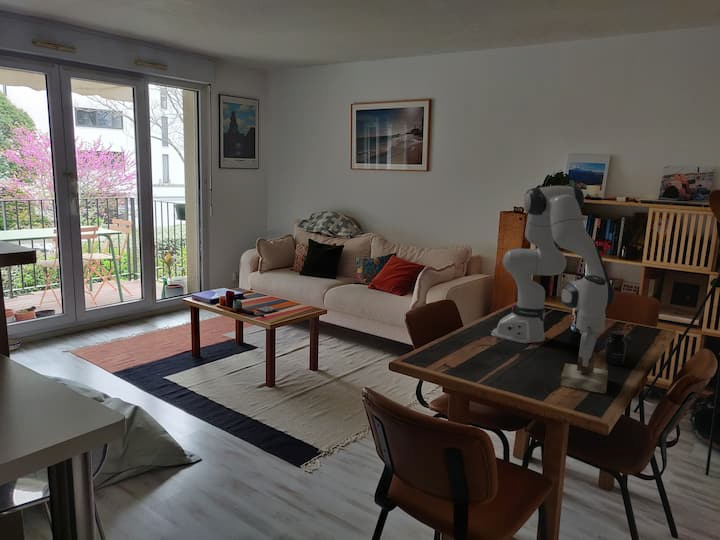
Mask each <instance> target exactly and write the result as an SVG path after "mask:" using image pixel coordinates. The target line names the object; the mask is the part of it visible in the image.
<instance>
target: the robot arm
mask: <svg viewBox="0 0 720 540" xmlns="http://www.w3.org/2000/svg"><path fill="white" fill-rule="evenodd" d="M523 199H524V200H523V206H524V209H525V211H526V213H528V214H527V219H526V224H525V225H526V226H525V231H524V236H525V239H526V241H528V242H529V243H531V244H532V245H533V246H536V247H537V248H514V249H508V250H507V251H506V252H505V254H504V256H503V258H502V265H503V268H504V269H505V271H506V272H507V273H508V274H510V275H511V276H512V277H513V279H514V281H515V284H516V287H517V302H515V303H513V304H512V307H511V313H509V314H507V315H505V316H503V317H502V318H501V319H500V320H499V322H498V323H497V327H495V328H493V329H492V331H491V333H490V335H491V336H492V337H494V338H498V339H503V340H508V341H513V342H517V343H521V344H529V343H541V342H544V341H546V337H545V331H544V321H545V314H546V311H545V309H546V307H545V299H546V290H545V288H544V286H542V285H541V284H539V283H538V282H536V281H535V280H533V276H549V277H550V276H557V275H561V274H562V273H564V271H565V270H566V267H567V259H566V256H565V255H564V253H563V252H562V251H561V250H559V248H557V246H559V247H560V248H562V249H563V250H566V251H568V252H569V251H570V252H571V253H574V254H575V255H576V254H577V255H578V256H580V257H581V258H582V259H583V260H584V261H585V263H586V268H587V270H588V273H589V274H587V275H585V276H583V277H582V278H580V279H578V280H573V281H567V282H565V283H564V284H563V286H562V287H561V290H560V301H561V302H562V304H563V305H564V306H565V307H566V308H569V309H576V310H577V313H576V322H575V323H576V324H575V327H576V329H577V330H579V333H580V334H581V337H580V345H579V351H578V355H579V356H580V357H582V358H583V363H582V365H583V366H585V367H587V366H588V363H589V359H590V358H591V356H592V352H594V348H595V345H596V343H597V339H598V336H600V333H602V332H604V331H605V325H606V310H607V309H608V308H609V307H611V306H612V304H613V303H614V302H615V299H616V291H615V289H614V285H613V284H612V282H611V280H610V278H609V276H608V273H607V270H606V267H605V264H604V261H603V258H602V255H601V252H600V249H599V247H598V244H597V242H596V241H595V239H594V238H593V237H591V236H590V235H589V233H588V231H587V230H586V227H585V224H584V219H583V213H582V210H581V209H582V208H583V207H584V202H585V196H584V192H583V190H582V189H581V188H580V187H579V186H575V185H552V186H542V187H533V188H530V189H528V190H527V191H526V193H525V194H524V198H523ZM556 245H557V246H556Z"/></svg>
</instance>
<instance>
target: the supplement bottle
mask: <svg viewBox="0 0 720 540" xmlns="http://www.w3.org/2000/svg"><path fill="white" fill-rule="evenodd" d="M605 343H606V344H605V351H604V359H603V360H604V363H606V364H608V365H611V366H619V365H620V366H622V365H624V362H625V358H626V357H625V356H626V349H627V342H626V341H625V333H624V332H622V331H618V330H616V331H615V330H611V331H610V335H609V338H607V339H606V342H605Z"/></svg>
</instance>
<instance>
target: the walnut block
mask: <svg viewBox="0 0 720 540" xmlns="http://www.w3.org/2000/svg"><path fill="white" fill-rule="evenodd" d="M596 355H597V351H593V352H592V356H591V358H590V359H589V363H588V366H587V367H585V366H583V365H582V363H583V358H582V357H580V356H579V354H578V355H577V356H578V357H577V364H576V365H577V370H578V371H584V372H589V373H593V370H594V368H595V362H596Z"/></svg>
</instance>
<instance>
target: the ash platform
mask: <svg viewBox="0 0 720 540" xmlns="http://www.w3.org/2000/svg"><path fill="white" fill-rule="evenodd" d="M577 365H578V364H572V363H564V367H563V371H562V373H561V377H560V378H561V379H560V386H561V387H565V386H566V388H570V387H572V388H571V389H576V388H577V390H581V389H583V390H582V391H587V390H588V391H589V392H594V393H598V392H599V394H604V393H605V394H604V395H606V394H607V387H608V386H607V385H608V376H609V374H608V373H609V372H608V371H609V370H608V369H604V368H603V369H602V368H599V367H598V368H596V367H594V370H593V373H589V372H584V371H578V370H577Z"/></svg>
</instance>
